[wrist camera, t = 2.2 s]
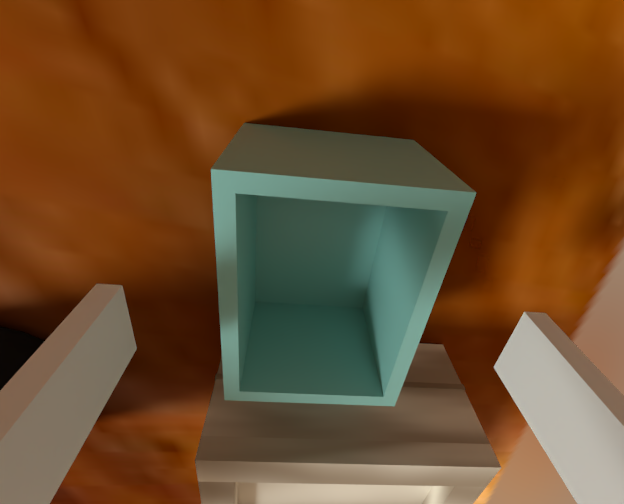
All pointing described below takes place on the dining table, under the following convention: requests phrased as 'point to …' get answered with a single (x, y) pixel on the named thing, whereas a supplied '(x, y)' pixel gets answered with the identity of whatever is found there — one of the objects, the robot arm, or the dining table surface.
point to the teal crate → (328, 261)
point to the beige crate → (349, 446)
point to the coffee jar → (15, 352)
